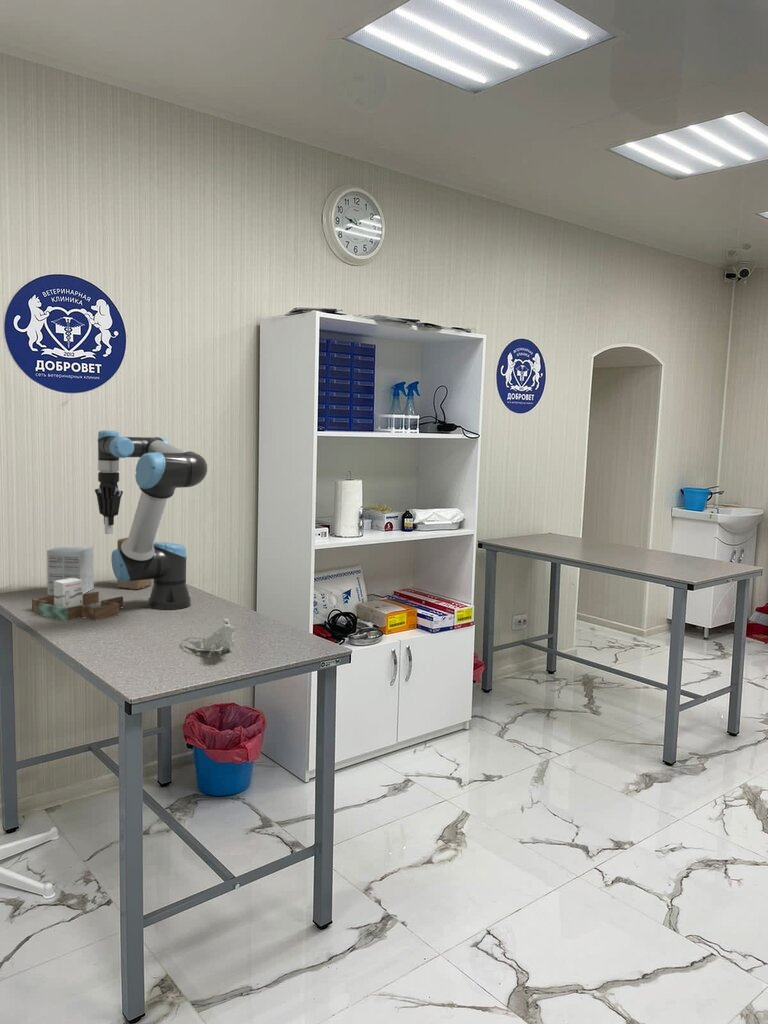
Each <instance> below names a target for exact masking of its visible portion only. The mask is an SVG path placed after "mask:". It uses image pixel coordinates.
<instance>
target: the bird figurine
mask: <svg viewBox="0 0 768 1024" xmlns="http://www.w3.org/2000/svg"><path fill="white" fill-rule="evenodd" d="M235 631H237V627H235V626H231V624H230V620H229V618H224V619H223V625H222V627H218V629H217V630H215V631H214V632H213V633H212V635H211V636H207V637H197V636H196V637H194V636H190V637H187V638H185V639H184V640H181V644H183V643H185V642H188V643H189V644H190V645H192V646H194V648H195V649H198V650H204V651H207V652H208V651H209V652H211V651H212V652H211V653H213V652H215V651H219V650H220V651H221V650H223V651H225V650H227V649H230V648H231V647H233V646H234V644H235V642H236V641H235V640H234V637H235V636H236V632H235ZM232 633H233V634H232ZM192 639H193V640H192ZM196 639H199V640H197V641H196ZM194 640H195V641H194Z"/></svg>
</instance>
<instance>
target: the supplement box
mask: <svg viewBox="0 0 768 1024" xmlns="http://www.w3.org/2000/svg"><path fill="white" fill-rule="evenodd" d="M46 569H47V571H46V573H47V575H46V576H47V585H46V586H47V596H51V595H54V582H55V581H57V580H62V579H68V578H77V579H81V580H83V594H84V593H86V592H88V591H89V592H91V591H93V590H94V546H92V545H91V546H90V545H87V546H86V545H62V544H61V545H59V546H55V547H53V548H50V549H48V550H47V551H46ZM92 589H93V590H92ZM90 590H91V591H90ZM89 592H88V593H89ZM86 594H87V593H86Z"/></svg>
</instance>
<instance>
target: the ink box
mask: <svg viewBox="0 0 768 1024" xmlns="http://www.w3.org/2000/svg"><path fill="white" fill-rule="evenodd" d="M78 605H83V580H81V579H77V578H68V579H62V580H57V581H55V582H54V606H59V607H63V608H69V607H74V606H78Z"/></svg>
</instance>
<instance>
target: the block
mask: <svg viewBox="0 0 768 1024" xmlns="http://www.w3.org/2000/svg"><path fill="white" fill-rule="evenodd" d="M126 539H128V537H123V538H119V539H117V549H121V545H122V543H123V542H124V541H125V540H126ZM149 585H151V586H152V579H148V580H140V581H131V582H120V581H118V580H117V587H118V588H119V587H123V588H122V589H124V588H133V589H139V590H141V589H140V588H142V589H144V588H143V587H145V588H147V587H146V586H148V587H150V586H149ZM133 589H132V590H133Z"/></svg>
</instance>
